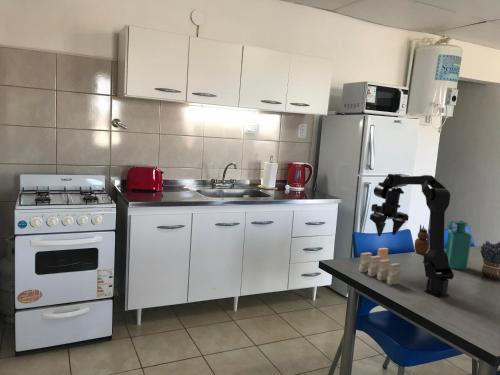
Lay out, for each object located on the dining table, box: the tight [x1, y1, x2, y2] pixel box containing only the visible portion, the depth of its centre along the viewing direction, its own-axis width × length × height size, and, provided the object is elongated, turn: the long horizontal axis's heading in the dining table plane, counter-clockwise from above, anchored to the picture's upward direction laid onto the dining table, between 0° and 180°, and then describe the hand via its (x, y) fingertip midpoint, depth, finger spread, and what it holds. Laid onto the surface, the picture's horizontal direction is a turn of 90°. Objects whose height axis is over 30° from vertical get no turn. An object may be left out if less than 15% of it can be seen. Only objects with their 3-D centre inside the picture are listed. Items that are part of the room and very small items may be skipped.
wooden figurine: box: [413, 223, 430, 255], centre depth 216 cm, size 7×6×15 cm
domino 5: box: [386, 262, 402, 286], centre depth 166 cm, size 2×5×8 cm, turn 122°
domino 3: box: [376, 247, 389, 260], centre depth 189 cm, size 2×5×8 cm, turn 122°
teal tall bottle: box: [445, 218, 473, 271], centre depth 196 cm, size 10×8×22 cm
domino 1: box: [358, 251, 373, 273], centre depth 179 cm, size 2×5×8 cm, turn 122°
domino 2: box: [367, 255, 381, 277], centre depth 175 cm, size 2×5×8 cm, turn 122°
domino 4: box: [376, 258, 392, 281], centre depth 171 cm, size 2×5×8 cm, turn 122°
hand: (386, 235), depth 188 cm, fingers open, 9 cm apart
